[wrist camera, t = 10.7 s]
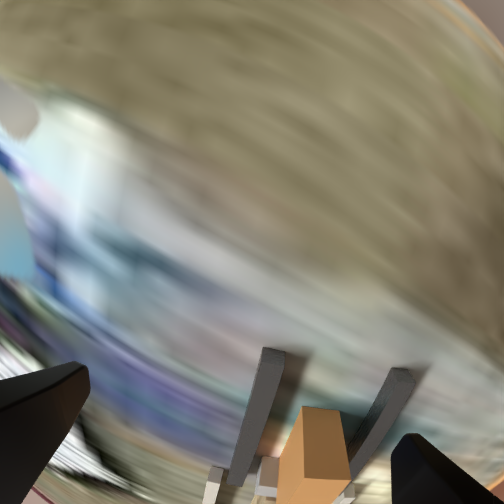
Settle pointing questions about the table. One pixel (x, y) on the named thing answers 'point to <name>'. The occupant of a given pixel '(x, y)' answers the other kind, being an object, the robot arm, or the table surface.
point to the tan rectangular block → (308, 462)
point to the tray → (216, 474)
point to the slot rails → (360, 447)
